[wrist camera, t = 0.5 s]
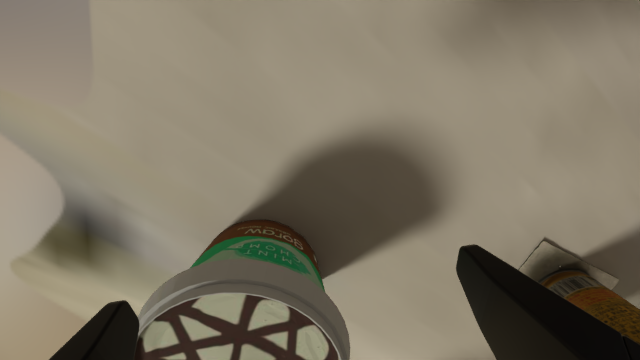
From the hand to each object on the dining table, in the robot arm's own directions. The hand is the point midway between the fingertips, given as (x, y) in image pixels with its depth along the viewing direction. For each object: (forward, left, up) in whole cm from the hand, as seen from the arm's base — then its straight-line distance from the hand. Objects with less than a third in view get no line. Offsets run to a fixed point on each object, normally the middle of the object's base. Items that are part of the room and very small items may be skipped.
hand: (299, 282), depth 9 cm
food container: (-7, 0, -16) cm, 18 cm away
